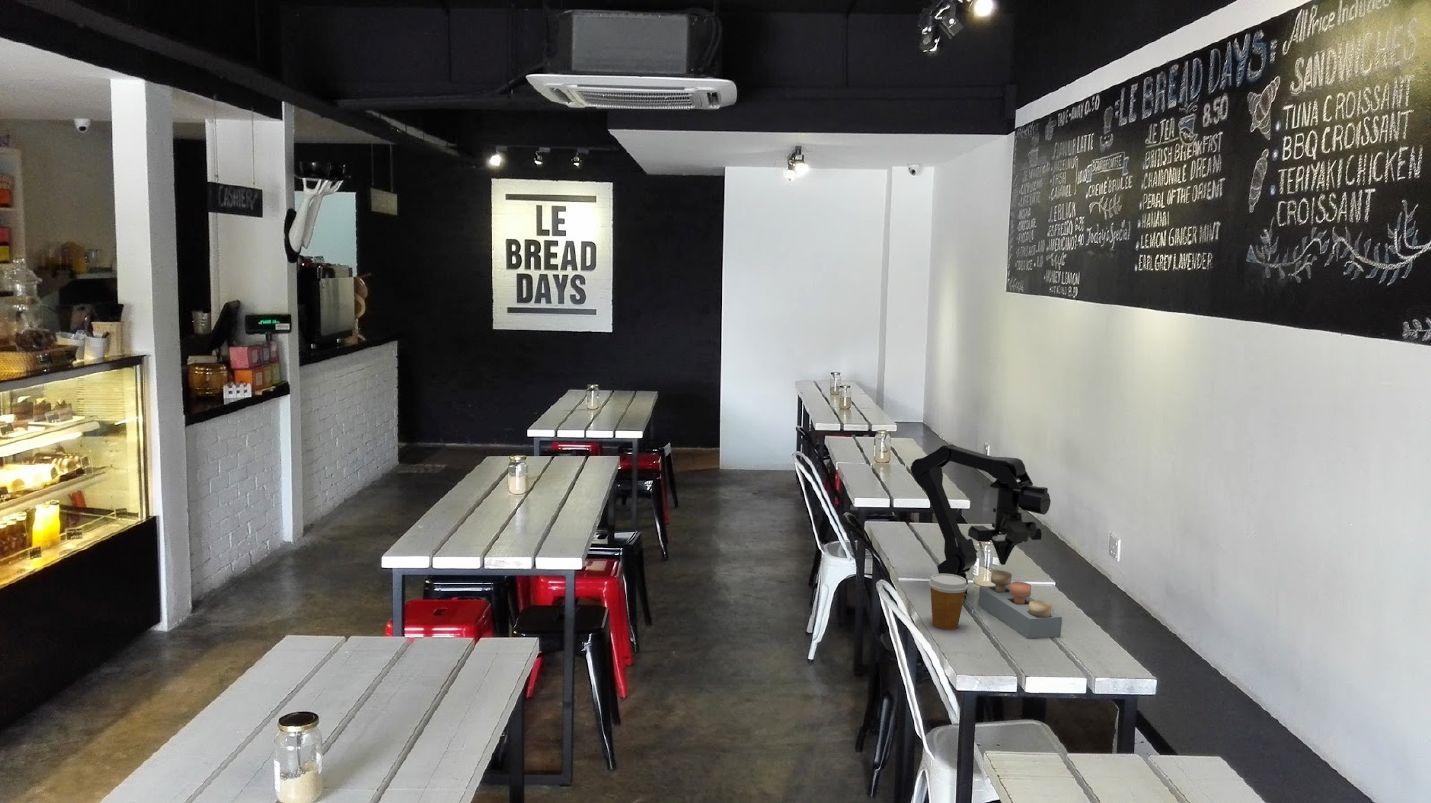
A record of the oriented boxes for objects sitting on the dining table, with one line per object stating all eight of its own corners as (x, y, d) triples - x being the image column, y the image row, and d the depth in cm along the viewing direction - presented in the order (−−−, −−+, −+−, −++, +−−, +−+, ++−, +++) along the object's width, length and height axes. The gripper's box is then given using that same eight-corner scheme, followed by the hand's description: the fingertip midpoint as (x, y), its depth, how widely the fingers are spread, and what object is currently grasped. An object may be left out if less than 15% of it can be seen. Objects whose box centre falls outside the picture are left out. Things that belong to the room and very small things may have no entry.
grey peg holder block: (1028, 638, 248) (1029, 619, 247) (978, 604, 271) (979, 586, 270) (1060, 636, 250) (1062, 616, 249) (1008, 603, 273) (1009, 585, 272)
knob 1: (995, 604, 266) (998, 576, 264) (985, 597, 271) (987, 570, 269) (1013, 603, 267) (1015, 576, 266) (1002, 596, 272) (1005, 569, 271)
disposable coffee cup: (939, 615, 261) (942, 570, 260) (972, 626, 255) (975, 580, 253) (918, 624, 255) (921, 577, 253) (951, 635, 248) (954, 587, 246)
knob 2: (1034, 637, 248) (1037, 608, 247) (1022, 629, 253) (1025, 601, 252) (1053, 635, 250) (1055, 607, 249) (1041, 628, 255) (1043, 599, 254)
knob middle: (1014, 616, 257) (1017, 588, 256) (1003, 609, 262) (1006, 581, 261) (1032, 615, 258) (1035, 587, 257) (1021, 608, 263) (1024, 580, 262)
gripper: (991, 515, 255) (986, 575, 257) (1056, 513, 260) (1051, 572, 262) (969, 504, 265) (964, 562, 268) (1032, 502, 270) (1027, 559, 272)
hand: (1002, 564), depth 267 cm, fingers closed
